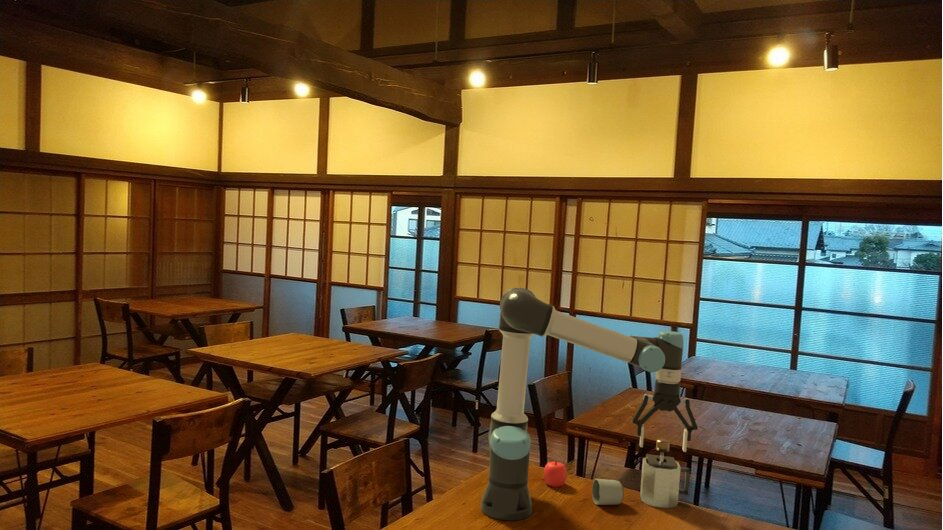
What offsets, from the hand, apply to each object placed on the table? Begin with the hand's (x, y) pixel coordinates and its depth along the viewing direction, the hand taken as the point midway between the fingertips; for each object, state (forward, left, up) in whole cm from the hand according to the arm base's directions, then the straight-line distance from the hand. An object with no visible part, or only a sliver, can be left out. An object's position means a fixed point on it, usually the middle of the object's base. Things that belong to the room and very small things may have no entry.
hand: (662, 448), depth 208 cm
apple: (-33, +3, -17) cm, 37 cm away
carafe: (+2, 0, -17) cm, 17 cm away
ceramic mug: (-17, -6, -17) cm, 25 cm away
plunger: (0, 0, -15) cm, 15 cm away
